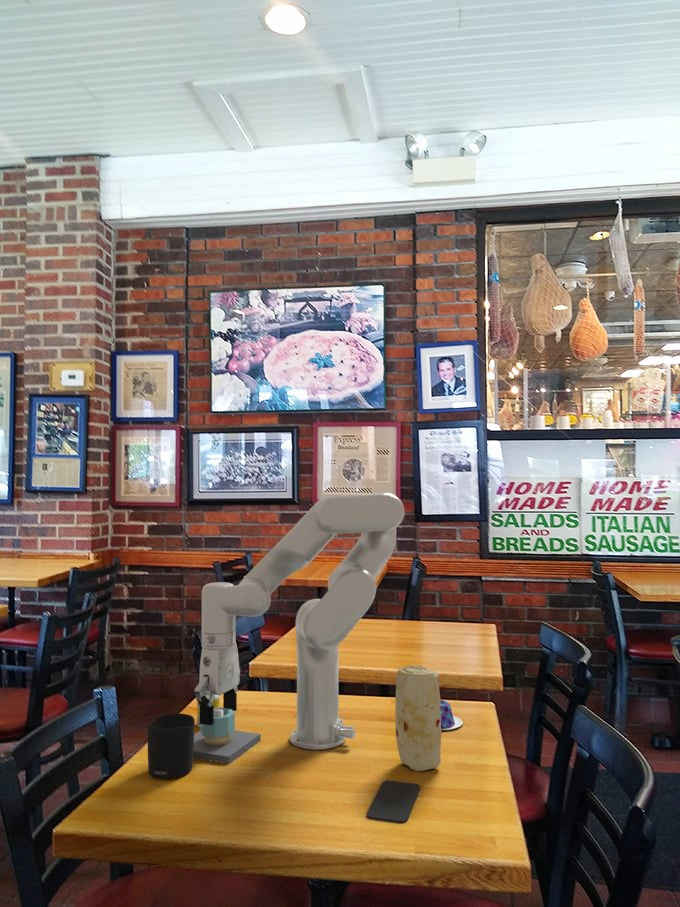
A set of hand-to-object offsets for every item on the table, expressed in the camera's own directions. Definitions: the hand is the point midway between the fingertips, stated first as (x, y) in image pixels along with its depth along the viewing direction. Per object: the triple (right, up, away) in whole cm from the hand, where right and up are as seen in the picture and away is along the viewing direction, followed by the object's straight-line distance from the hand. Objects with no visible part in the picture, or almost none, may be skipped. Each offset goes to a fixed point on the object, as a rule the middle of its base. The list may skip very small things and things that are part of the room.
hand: (218, 716), depth 149 cm
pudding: (+51, -8, +15) cm, 54 cm away
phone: (+37, -6, -27) cm, 46 cm away
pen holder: (-7, -6, -13) cm, 16 cm away
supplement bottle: (-5, -8, +14) cm, 17 cm away
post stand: (0, -7, 0) cm, 7 cm away
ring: (0, -3, 0) cm, 3 cm away
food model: (+43, -6, -11) cm, 45 cm away
